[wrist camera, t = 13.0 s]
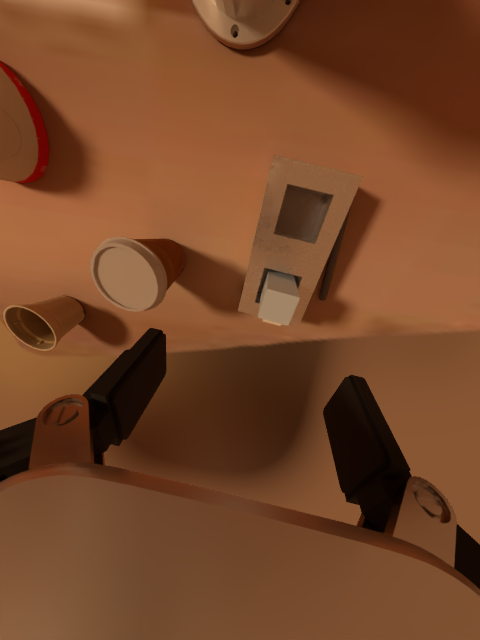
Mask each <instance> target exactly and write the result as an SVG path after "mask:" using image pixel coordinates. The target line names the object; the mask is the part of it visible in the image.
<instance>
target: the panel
mask: <svg viewBox="0 0 480 640" xmlns="http://www.w3.org/2000/svg"><path fill="white" fill-rule="evenodd" d="M362 178H363V176H360V175H356V174H352V173H347V172H343V171H339V170H335V169H331V168H327V167H323V166H319V165H314V164H310V163H306V162H302V161H298V160H294V159H290V158H286V157H281V156H277V155H274V158H273V162H272V166H271V170H270V175H269V179H268V183H267V188H266V192H265V196H264V200H263V205H262V209H261V213H260V218H259V222H258V226H257V231H256V235H255V239H254V243H253V248H252V252H251V256H250V261H249V265H248V269H247V273H246V278H245V282H244V286H243V291H242V295H241V299H240V303H239V308H238V311H239V312H243V313H247V314H251V315H255V316H258V311H259V304H260V296H261V289H262V286H263V283H264V279H265V276H266V273H267V270H268V269H272V270H276V271H280V272H284V273H288V274H292V275H294V279H295V282H296V286H297V289H298V292H299V296H300V299H299V302H298V304H297V306H296V309H295V311H294V313H293V316H292V318H291V320H290V323H289V324H290V325H294V326H298V327H299V324H300V322H301V320H302V317H303V315H304V313H305V311H306V308H307V306H308V304H309V301H310V299H311V297H312V294H313V292H314V290H315V287H316V285H317V283H318V280H319V278H320V276H321V273H322V271H323V269H324V266H325V264H326V262H327V259H328V257H329V255H330V252H331V250H332V248H333V245H334V243H335V241H336V238H337V236H338V234H339V231H340V229H341V227H342V224H343V222H344V220H345V217H346V215H347V213H348V210H349V208H350V206H351V203H352V201H353V199H354V196H355V194H356V192H357V189H358V187H359V185H360V183H361V180H362Z"/></svg>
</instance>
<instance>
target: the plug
mask: <svg viewBox="0 0 480 640" xmlns="http://www.w3.org/2000/svg"><path fill="white" fill-rule="evenodd" d="M299 299H300V296H299V292H298V289H297V286H296V282H295V279H294V275H292V274H288V273H284V272H280V271H276V270H272V269H268V270H267V273H266V276H265V279H264V283H263V286H262V289H261V296H260V304H259V311H258V318H261V319H263V321H264V322H268V323H271V324H275V325H279V326H281V324H283V325H287V326H288V325H289V323H290V320H291V318H292V316H293V313H294V311H295V309H296V306H297V304H298V302H299Z"/></svg>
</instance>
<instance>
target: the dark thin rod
mask: <svg viewBox="0 0 480 640" xmlns="http://www.w3.org/2000/svg"><path fill="white" fill-rule="evenodd" d="M349 210H350V208H349ZM349 210H348V213H347V215H346V217H345V220H344V222H343V224H342V227H341V229H340V231H339V234H338V236H337V238H336V241H335V243H334V245H333V248H332V250H331V254H330V258H329V262H328V266H327V270H326V274H325V278H324V282H323V286H322V290H321V294H320V300H325V299H326V296H327V293H328V289H329V285H330V281H331V278H332V274H333V270H334V266H335V263H336V259H337V255H338V251H339V248H340V244H341V240H342V236H343V233H344V229H345V225H346V221H347V218H348V214H349Z"/></svg>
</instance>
